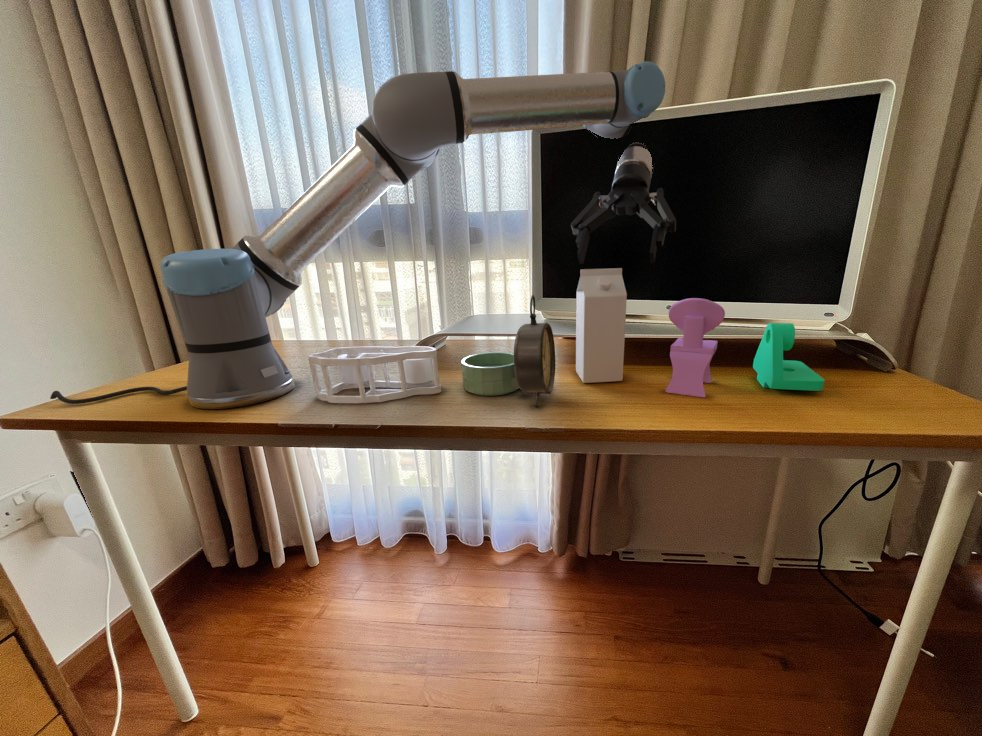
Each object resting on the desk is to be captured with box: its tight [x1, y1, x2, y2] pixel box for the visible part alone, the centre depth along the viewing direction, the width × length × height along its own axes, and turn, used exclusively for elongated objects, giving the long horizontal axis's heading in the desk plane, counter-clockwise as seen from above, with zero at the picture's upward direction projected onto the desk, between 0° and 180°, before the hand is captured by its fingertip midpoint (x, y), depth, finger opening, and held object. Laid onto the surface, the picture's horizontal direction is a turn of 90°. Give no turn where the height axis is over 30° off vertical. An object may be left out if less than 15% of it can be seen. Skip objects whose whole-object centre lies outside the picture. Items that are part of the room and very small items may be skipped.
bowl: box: [460, 351, 520, 397], centre depth 74 cm, size 10×10×5 cm
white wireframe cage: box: [308, 345, 442, 404], centre depth 72 cm, size 20×11×7 cm, turn 85°
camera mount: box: [752, 322, 826, 392], centre depth 71 cm, size 12×8×10 cm, turn 168°
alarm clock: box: [513, 294, 556, 408], centre depth 66 cm, size 11×5×16 cm, turn 168°
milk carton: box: [575, 267, 628, 384], centre depth 75 cm, size 7×7×19 cm
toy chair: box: [665, 297, 726, 398], centre depth 70 cm, size 8×9×15 cm
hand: (614, 258), depth 81 cm, fingers open, 13 cm apart
